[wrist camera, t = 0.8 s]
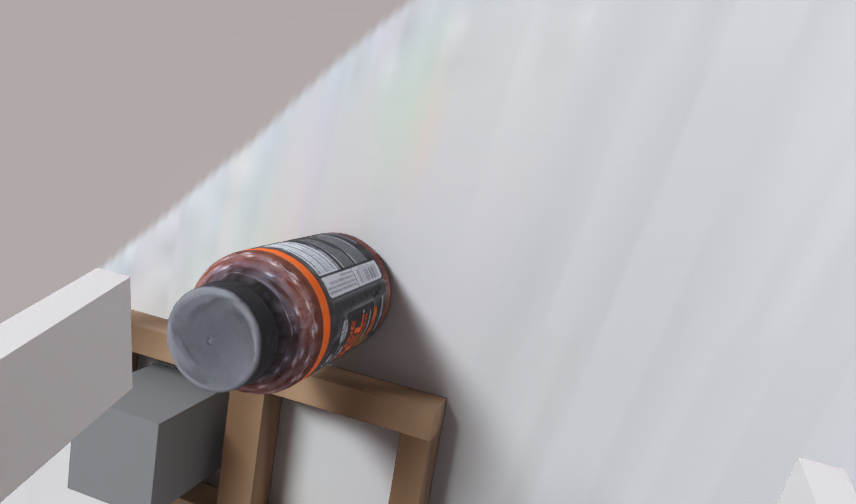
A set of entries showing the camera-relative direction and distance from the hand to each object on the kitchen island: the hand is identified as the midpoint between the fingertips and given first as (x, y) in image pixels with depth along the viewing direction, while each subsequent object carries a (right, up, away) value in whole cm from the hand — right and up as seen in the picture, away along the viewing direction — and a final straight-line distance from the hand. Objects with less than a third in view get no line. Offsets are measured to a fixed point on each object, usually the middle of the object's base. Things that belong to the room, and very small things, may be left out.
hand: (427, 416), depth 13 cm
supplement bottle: (-4, +1, +22) cm, 23 cm away
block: (-14, -6, +26) cm, 30 cm away
